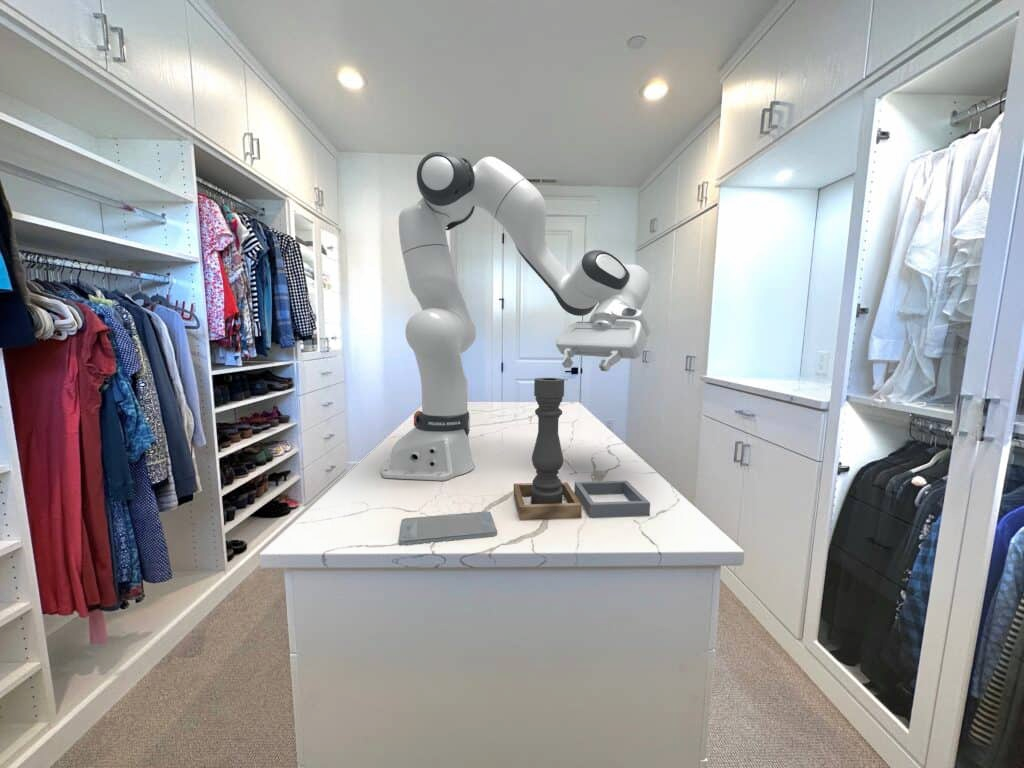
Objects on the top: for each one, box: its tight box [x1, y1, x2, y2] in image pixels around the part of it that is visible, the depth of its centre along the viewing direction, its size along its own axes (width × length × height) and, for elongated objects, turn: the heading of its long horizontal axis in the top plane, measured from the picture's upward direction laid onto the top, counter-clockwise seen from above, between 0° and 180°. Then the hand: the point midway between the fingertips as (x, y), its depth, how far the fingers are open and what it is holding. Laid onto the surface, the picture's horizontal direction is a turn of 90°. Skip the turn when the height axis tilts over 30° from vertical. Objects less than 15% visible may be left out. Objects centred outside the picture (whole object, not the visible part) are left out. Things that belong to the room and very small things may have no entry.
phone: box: [398, 510, 498, 546], centre depth 68 cm, size 8×16×1 cm, turn 102°
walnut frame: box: [513, 481, 583, 521], centre depth 78 cm, size 11×11×2 cm
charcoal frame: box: [573, 480, 651, 519], centre depth 79 cm, size 11×11×2 cm
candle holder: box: [530, 377, 565, 504], centre depth 76 cm, size 6×6×25 cm
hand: (583, 367), depth 83 cm, fingers open, 8 cm apart
